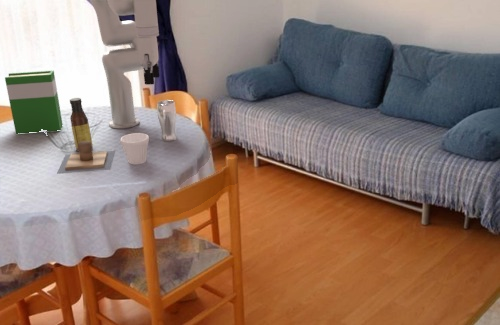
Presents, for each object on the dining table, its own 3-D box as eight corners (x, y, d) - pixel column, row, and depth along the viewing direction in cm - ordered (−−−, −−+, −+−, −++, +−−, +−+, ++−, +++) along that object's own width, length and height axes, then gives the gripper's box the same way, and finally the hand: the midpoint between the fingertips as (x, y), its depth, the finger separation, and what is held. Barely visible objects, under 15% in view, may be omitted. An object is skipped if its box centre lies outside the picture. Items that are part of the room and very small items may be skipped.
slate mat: (65, 155, 214) (65, 154, 214) (115, 151, 216) (115, 150, 215) (56, 174, 197) (56, 173, 197) (110, 170, 199) (110, 169, 199)
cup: (127, 169, 199) (124, 144, 196) (119, 160, 208) (116, 136, 204) (155, 163, 204) (152, 139, 200) (146, 154, 212) (143, 131, 208)
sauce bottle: (96, 148, 220) (89, 97, 213) (85, 153, 215) (77, 102, 208) (82, 145, 223) (75, 96, 215) (71, 151, 218) (63, 100, 210)
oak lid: (71, 156, 212) (68, 138, 209) (107, 153, 213) (105, 135, 210) (65, 170, 200) (62, 151, 197) (103, 167, 201) (101, 148, 198)
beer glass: (179, 136, 230) (176, 99, 224) (175, 142, 223) (172, 104, 218) (162, 136, 230) (159, 99, 225) (158, 142, 224) (154, 104, 218)
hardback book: (16, 134, 238) (4, 77, 229) (19, 129, 245) (8, 73, 236) (60, 131, 240) (50, 74, 231) (62, 125, 247) (53, 70, 238)
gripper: (141, 27, 205) (146, 75, 211) (130, 36, 189) (136, 87, 195) (162, 27, 204) (167, 74, 211) (153, 35, 188) (158, 86, 195)
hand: (152, 80), depth 203 cm, fingers open, 9 cm apart
